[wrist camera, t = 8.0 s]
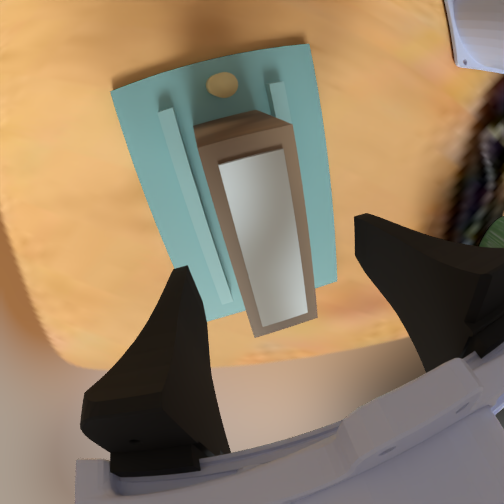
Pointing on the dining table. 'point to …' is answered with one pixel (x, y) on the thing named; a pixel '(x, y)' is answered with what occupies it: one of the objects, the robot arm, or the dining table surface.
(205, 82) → the light blue peg board
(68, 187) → the dining table surface
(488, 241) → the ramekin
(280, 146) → the walnut frame
